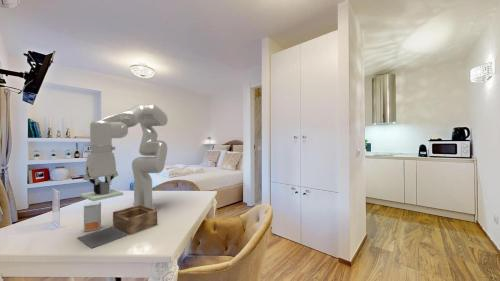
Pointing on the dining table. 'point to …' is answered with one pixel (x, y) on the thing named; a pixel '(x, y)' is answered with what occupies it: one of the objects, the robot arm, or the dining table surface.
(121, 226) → the walnut box
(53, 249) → the dining table surface
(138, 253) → the dining table surface
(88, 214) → the skincare box
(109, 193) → the cover plate
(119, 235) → the rubber mat
